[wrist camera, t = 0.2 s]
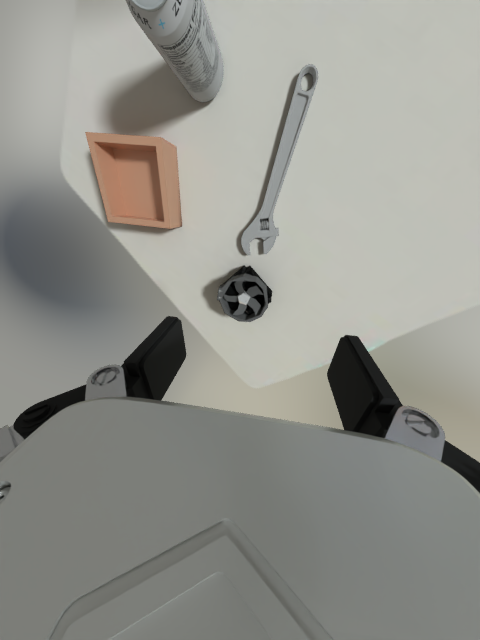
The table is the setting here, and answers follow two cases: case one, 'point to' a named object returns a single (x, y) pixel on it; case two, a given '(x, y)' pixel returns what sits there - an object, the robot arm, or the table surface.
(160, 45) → the energy drink can
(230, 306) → the cpu cooler
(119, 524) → the robot arm
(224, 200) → the table surface
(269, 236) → the adjustable wrench
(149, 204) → the bin
